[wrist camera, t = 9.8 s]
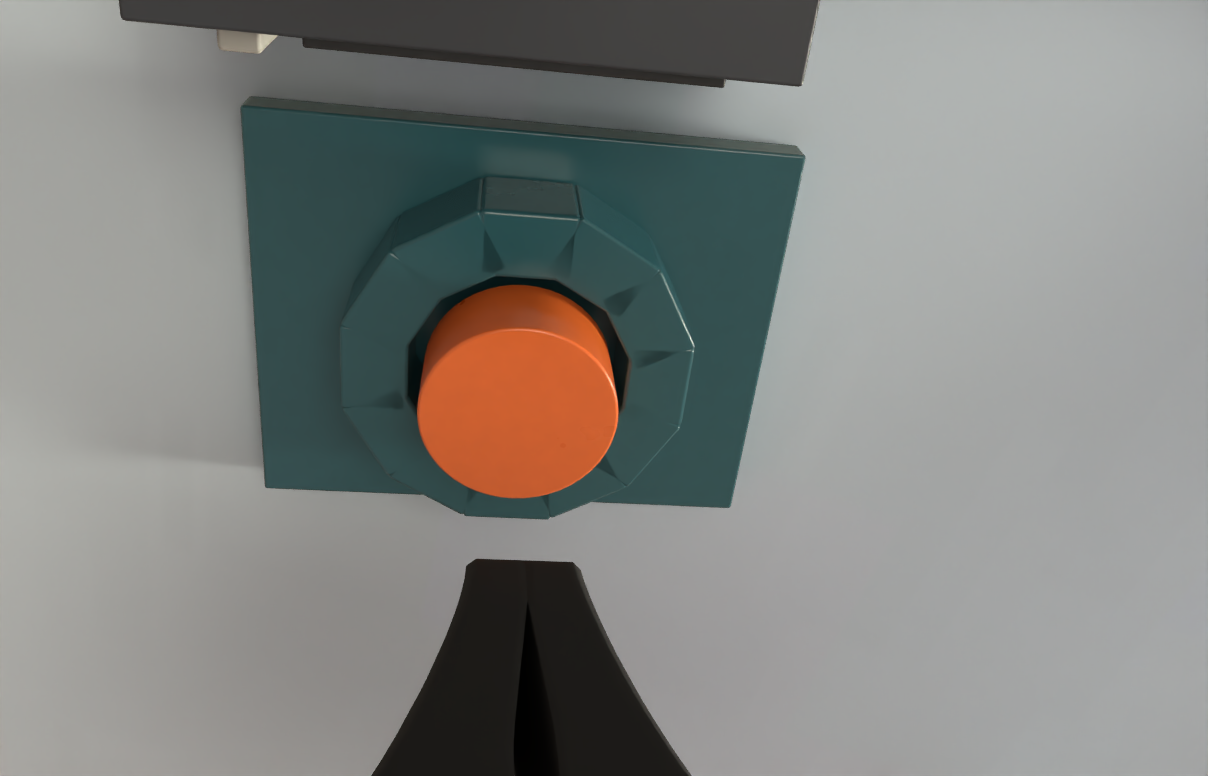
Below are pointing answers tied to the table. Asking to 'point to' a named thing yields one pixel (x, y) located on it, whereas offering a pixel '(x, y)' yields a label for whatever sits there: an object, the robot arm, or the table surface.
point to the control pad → (498, 258)
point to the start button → (517, 392)
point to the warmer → (528, 33)
